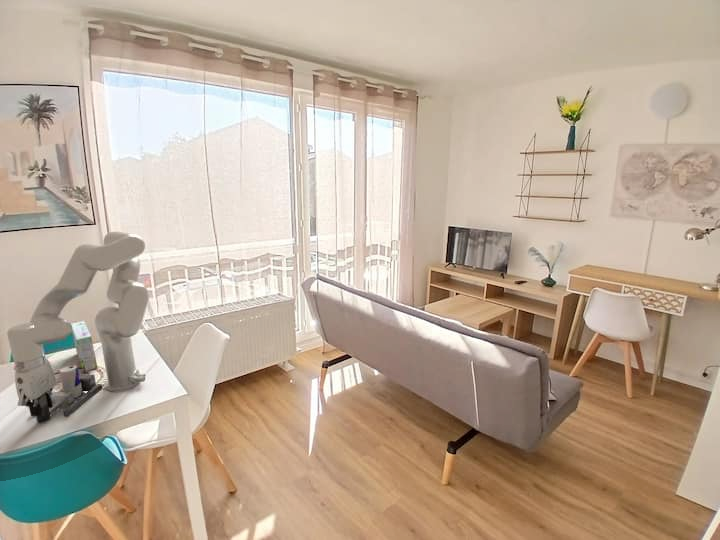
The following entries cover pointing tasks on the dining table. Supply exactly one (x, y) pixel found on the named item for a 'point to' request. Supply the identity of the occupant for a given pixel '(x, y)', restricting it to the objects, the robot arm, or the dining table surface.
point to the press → (87, 385)
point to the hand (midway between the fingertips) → (42, 411)
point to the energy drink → (71, 381)
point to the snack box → (84, 346)
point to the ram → (58, 401)
